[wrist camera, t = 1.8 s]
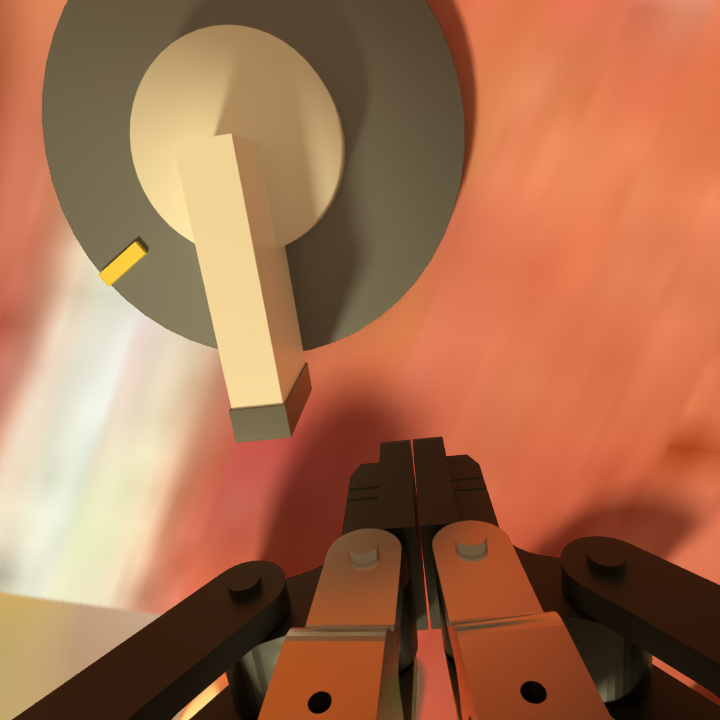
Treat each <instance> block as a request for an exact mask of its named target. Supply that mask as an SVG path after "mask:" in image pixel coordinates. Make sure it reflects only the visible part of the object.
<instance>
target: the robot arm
mask: <svg viewBox="0 0 720 720" xmlns="http://www.w3.org/2000/svg"><path fill="white" fill-rule="evenodd" d="M413 451H414V463H415V475H414V467H413V459H412V450H411V442H410V440H402V441H391V442H381V445H380V463H370V464H361V465H360V466H359V467H358V468H357V470H356V471H355V472H354V473H353V474H352V475H351V478H350V485H349V492H348V498H347V505H346V511H345V518H344V525H343V531H342V536H341V537H339V538H338V539H337V540H336V541H335V542H334V543H333V544H332V545H331V546H330V548H329V549H328V552H327V555H326V558H325V562H324V564H323V565H322V566H320V567H318V568H316V569H314V570H312V571H309V572H306V573H303V574H300V575H297V576H294V577H290V578H287V579H285V575H284V572H283V570H282V569H281V568H280V567H279V566H278V565H276V564H274V563H272V562H268V561H250V562H245V563H242V564H239V565H236V566H234V567H232V568H230V569H228V570H226V571H225V572H223V573H222V574H220V575H219V576H217V577H216V578H214V579H213V580H212V581H210V582H209V583H207V584H206V585H204V586H203V587H202V588H200V589H199V590H197V591H196V592H194V593H193V594H192V595H190V596H189V597H187V598H186V599H184V600H183V601H182V602H180V603H179V604H177V605H176V606H174V607H173V608H171V609H170V610H169V611H167V612H166V613H164V614H163V615H161V616H160V617H159V618H157V619H156V620H154V621H153V622H152V623H150V624H149V625H147V626H146V627H144V628H143V629H141V630H140V631H139V632H137V633H136V634H134V635H133V636H132V637H130V638H128V639H127V640H126V641H124V642H123V643H121V644H120V645H118V646H117V647H116V648H114V649H113V650H111V651H110V652H108V653H107V654H106V655H104V656H103V657H101V658H100V659H98V660H97V661H96V662H94V663H93V664H91V665H90V666H88V667H87V668H85V669H84V670H83V671H81V672H80V673H78V674H77V675H75V676H74V677H73V678H71V679H70V680H68V681H67V682H65V683H64V684H63V685H61V686H60V687H59V688H57V689H55V690H54V691H53V692H51V693H50V694H48V695H47V696H45V697H44V698H43V699H41V700H40V701H38V702H37V703H35V704H34V705H32V706H31V707H30V708H28V709H27V710H25V711H24V712H22V713H21V714H20V715H18V716H17V717H15V718H14V719H12V720H172V718H173V717H174V716H175V715H176V714H177V713H178V712H179V711H181V710H182V709H183V708H184V707H185V706H186V705H188V704H189V703H190V702H191V701H192V700H193V699H195V698H196V697H197V696H198V695H199V694H200V693H202V692H203V691H204V690H205V689H206V688H207V687H209V686H210V685H211V684H212V683H213V682H214V681H216V680H217V679H218V678H219V677H220V676H221V675H223V674H224V673H226V676H227V680H228V684H229V685H228V686H227V687H225V688H224V689H223V690H222V691H221V692H220V693H219V694H217V695H216V696H215V697H214V698H213V699H212V700H211V701H210V702H208V703H207V704H206V705H205V706H204V707H203V708H202V709H200V710H199V711H198V712H197V713H196V714H195V715H194V716H193V717H191V718H190V719H189V720H415V719H416V691H417V660H416V653H417V649H418V638H417V630H427V629H428V620H427V608H426V595H425V583H424V570H423V560H424V569H425V577H426V585H427V594H428V602H429V611H430V619H431V627H432V629H440V628H442V637H443V644H444V654H445V663H446V670H447V675H448V680H449V685H450V690H451V695H452V700H453V705H454V710H455V715H456V720H720V706H718V705H717V704H715V703H713V702H712V701H710V700H709V699H707V698H705V697H704V696H702V695H701V694H699V693H697V692H696V691H694V690H693V689H691V688H690V687H688V686H686V685H685V684H683V683H682V682H680V681H678V680H677V679H675V678H674V677H672V676H670V675H669V674H667V673H666V672H664V671H663V670H661V669H659V668H658V667H656V666H655V665H653V664H652V655H653V656H655V657H656V658H658V659H660V660H661V661H663V662H664V663H666V664H668V665H669V666H671V667H673V668H674V669H676V670H677V671H679V672H681V673H682V674H684V675H685V676H687V677H689V678H690V679H692V680H694V681H695V682H697V683H698V684H700V685H702V686H703V687H705V688H707V689H708V690H710V691H711V692H713V693H714V694H715V695H716V696H718V697H719V698H720V585H718V584H716V583H714V582H711V581H709V580H707V579H705V578H703V577H701V576H699V575H696V574H694V573H692V572H690V571H688V570H686V569H683V568H681V567H679V566H677V565H675V564H673V563H670V562H668V561H666V560H664V559H662V558H660V557H657V556H655V555H653V554H651V553H649V552H647V551H644V550H642V549H640V548H638V547H636V546H634V545H631V544H629V543H627V542H624V541H621V540H618V539H614V538H609V537H600V536H592V537H584V538H580V539H577V540H574V541H572V542H571V543H569V544H568V545H567V546H566V547H565V548H564V549H563V551H562V553H561V558H556V557H550V556H543V555H537V554H533V553H530V552H526V551H524V550H522V549H519V548H517V547H516V546H514V545H512V543H511V541H510V539H509V537H508V535H507V534H506V533H505V532H504V531H503V530H502V529H500V528H499V525H498V522H497V519H496V516H495V513H494V510H493V506H492V503H491V500H490V497H489V494H488V491H487V488H486V484H485V481H484V479H483V475H482V472H481V469H480V466H479V464H478V463H477V462H475V461H474V460H473V459H472V458H471V457H469V456H468V455H456V456H446V453H445V448H444V443H443V438H442V437H432V438H422V439H413ZM415 476H416V484H415ZM416 489H417V492H416ZM421 543H422V545H421ZM422 552H423V558H422Z"/></svg>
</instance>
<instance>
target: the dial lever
mask: <svg viewBox="0 0 720 720" xmlns="http://www.w3.org/2000/svg"><path fill="white" fill-rule="evenodd" d="M130 146H131V153H132V158H133V163H134V166H135V170H136V173H137V176H138V179H139V181H140V183H141V186H142V188H143V190H144V192H145V194H146V195H147V197H148V199H149V201H150V202H151V204H152V205H153V207H154V208H155V209H156V211H157V212H158V213H159V215H160V216H161V217H162V218H163V219H164V220H165V221H166V222H167V223H168V224H169V225H170V226H171V227H172V228H173V229H174V230H176V231H177V232H178V233H179V234H181V235H182V236H184V237H185V238H187V239H188V240H190V241H191V242H193V243H195V246H196V251H197V255H198V260H199V264H200V269H201V273H202V278H203V282H204V287H205V291H206V296H207V300H208V305H209V309H210V314H211V318H212V323H213V327H214V332H215V336H216V341H217V345H218V350H219V354H220V359H221V363H222V368H223V372H224V376H225V381H226V385H227V390H228V394H229V399H230V403H231V409H230V410H229V412H230V417H231V421H232V426H233V430H234V435H235V439H236V443H238V442H248V441H259V440H269V439H280V438H291V436H292V434H293V432H294V429H295V427H296V425H297V422H298V420H299V418H300V416H301V413H302V411H303V409H304V406H305V404H306V402H307V399H308V397H309V395H310V392H311V390H312V387H311V381H310V375H309V369H308V364H307V363H305V359H304V353H303V347H302V342H301V336H300V330H299V324H298V318H297V313H296V307H295V301H294V295H293V290H292V284H291V278H290V272H289V267H288V261H287V255H286V249H285V245H287V244H289V243H291V242H293V241H295V240H297V239H299V238H300V237H302V236H303V235H305V234H306V233H307V232H309V231H310V230H311V229H312V228H313V227H314V226H315V225H317V224H318V223H319V221H320V220H321V219H322V218H323V217H324V215H325V214H326V213H327V211H328V210H329V208H330V206H331V205H332V203H333V201H334V199H335V197H336V195H337V193H338V190H339V187H340V184H341V181H342V177H343V171H344V166H345V137H344V131H343V126H342V122H341V119H340V115H339V112H338V109H337V107H336V105H335V103H334V101H333V98H332V96H331V95H330V93H329V91H328V90H327V88H326V87H325V85H324V83H323V82H322V80H321V79H320V77H319V76H318V74H317V73H316V72H315V70H314V69H313V68H312V67H311V66H310V64H309V63H308V62H307V61H306V60H305V59H304V58H303V57H302V56H301V55H300V54H299V53H298V52H297V51H296V50H295V49H293V48H292V47H290V46H289V45H288V44H286V43H285V42H284V41H282V40H280V39H278V38H276V37H275V36H273V35H271V34H269V33H266V32H263V31H261V30H258V29H255V28H250V27H245V26H241V25H218V26H210V27H206V28H202V29H198V30H196V31H193V32H191V33H189V34H186V35H184V36H182V37H181V38H179V39H178V40H176V41H175V42H173V43H172V44H170V45H169V46H168V47H167V48H166V49H165V50H163V51H162V52H161V53H160V54H159V56H158V57H157V58H156V59H155V60H154V61H153V63H152V64H151V65H150V67H149V68H148V70H147V72H146V73H145V75H144V76H143V78H142V81H141V83H140V85H139V87H138V89H137V92H136V96H135V99H134V102H133V107H132V112H131V118H130Z"/></svg>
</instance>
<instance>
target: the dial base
mask: <svg viewBox="0 0 720 720" xmlns="http://www.w3.org/2000/svg"><path fill="white" fill-rule="evenodd" d="M218 25H241V26H245V27H250V28H255V29H258V30H261V31H263V32H266V33H269V34H271V35H273V36H275V37H276V38H278V39H280V40H282V41H284V42H285V43H286V44H288V45H289V46H290V47H292V48H293V49H295V50H296V51H297V52H298V53H299V54H300V55H301V56H302V57H303V58H304V59H305V60H306V61H307V62H308V63H309V64H310V66H311V67H312V68H313V69H314V70H315V72H316V73H317V74H318V76H319V77H320V79H321V80H322V82H323V83H324V85H325V87H326V88H327V90H328V91H329V93H330V95H331V96H332V98H333V101H334V103H335V105H336V107H337V109H338V112H339V115H340V119H341V122H342V126H343V131H344V137H345V166H344V171H343V177H342V181H341V184H340V187H339V190H338V193H337V195H336V197H335V199H334V201H333V203H332V205H331V206H330V208H329V210H328V211H327V213H326V214H325V215H324V217H323V218H322V219H321V220H320V221H319V223H318V224H317V225H315V226H314V227H313V228H312V229H311V230H310V231H309V232H307V233H306V234H305V235H303V236H302V237H300V238H299V239H297V240H295V241H293V242H291V243H289V244H287V245H285V249H286V255H287V261H288V267H289V272H290V278H291V284H292V290H293V295H294V301H295V307H296V313H297V318H298V324H299V330H300V336H301V342H302V347H303V351H305V350H311V349H314V348H317V347H320V346H324V345H327V344H330V343H333V342H336V341H338V340H340V339H342V338H344V337H346V336H348V335H351V334H353V333H355V332H357V331H359V330H360V329H362V328H363V327H365V326H366V325H368V324H370V323H371V322H373V321H374V320H376V319H377V318H379V317H380V316H381V315H382V314H383V313H385V312H386V311H387V310H388V309H389V308H391V307H392V306H393V305H394V304H395V303H397V302H398V301H399V300H400V299H401V297H402V296H403V295H404V294H405V293H406V292H407V291H408V290H409V289H410V288H411V287H412V285H413V284H414V283H415V282H416V281H417V279H418V278H419V277H420V275H421V274H422V272H423V271H424V269H425V268H426V267H427V265H428V264H429V262H430V261H431V259H432V257H433V256H434V254H435V252H436V250H437V248H438V246H439V244H440V242H441V240H442V239H443V237H444V235H445V232H446V229H447V227H448V224H449V221H450V219H451V216H452V213H453V211H454V208H455V204H456V200H457V195H458V191H459V187H460V183H461V178H462V169H463V161H464V152H465V119H464V111H463V103H462V96H461V88H460V84H459V80H458V76H457V72H456V68H455V65H454V61H453V57H452V54H451V51H450V49H449V46H448V44H447V41H446V39H445V36H444V34H443V31H442V29H441V26H440V24H439V22H438V21H437V19H436V17H435V15H434V13H433V12H432V10H431V8H430V6H429V5H428V3H427V1H426V0H68V1H67V3H66V5H65V7H64V9H63V12H62V14H61V17H60V19H59V22H58V24H57V27H56V30H55V32H54V35H53V39H52V43H51V46H50V50H49V54H48V58H47V62H46V69H45V77H44V85H43V93H42V125H43V134H44V143H45V152H46V157H47V161H48V165H49V170H50V174H51V178H52V182H53V185H54V188H55V191H56V194H57V197H58V199H59V202H60V205H61V208H62V210H63V212H64V214H65V217H66V219H67V221H68V223H69V225H70V227H71V229H72V231H73V233H74V235H75V237H76V238H77V240H78V241H79V243H80V245H81V246H82V248H83V249H84V251H85V253H86V254H87V256H88V257H89V259H90V260H91V261H92V263H93V264H94V265H95V266H96V268H97V269H98V270H99V271H100V274H99V276H100V278H101V279H102V280H103V281H104V282H105V283H106V284H107V285H108V286H111V285H112V286H113V287H114V288H115V289H116V290H117V291H118V292H119V293H120V294H121V295H122V296H123V297H124V298H125V299H126V300H127V301H128V302H130V303H131V304H132V305H133V306H135V307H136V308H137V309H138V310H140V311H141V312H142V313H143V314H144V315H146V316H147V317H149V318H151V319H152V320H154V321H155V322H157V323H159V324H160V325H162V326H163V327H165V328H166V329H168V330H170V331H172V332H175V333H177V334H179V335H181V336H183V337H185V338H187V339H189V340H192V341H195V342H198V343H201V344H204V345H207V346H210V347H212V348H216V349H218V345H217V341H216V336H215V332H214V327H213V323H212V318H211V314H210V309H209V305H208V300H207V296H206V291H205V287H204V282H203V278H202V273H201V269H200V264H199V260H198V255H197V251H196V246H195V243H193V242H191V241H190V240H188V239H187V238H185V237H184V236H182V235H181V234H179V233H178V232H177V231H176V230H174V229H173V228H172V227H171V226H170V225H169V224H168V223H167V222H166V221H165V220H164V219H163V218H162V217H161V216H160V215H159V213H158V212H157V211H156V209H155V208H154V207H153V205H152V204H151V202H150V201H149V199H148V197H147V195H146V194H145V192H144V190H143V188H142V186H141V183H140V181H139V179H138V176H137V173H136V170H135V166H134V163H133V158H132V153H131V146H130V118H131V112H132V107H133V102H134V99H135V96H136V92H137V89H138V87H139V85H140V83H141V81H142V78H143V76H144V75H145V73H146V72H147V70H148V68H149V67H150V65H151V64H152V63H153V61H154V60H155V59H156V58H157V57H158V56H159V54H160V53H161V52H162V51H163V50H165V49H166V48H167V47H168V46H169V45H170V44H172V43H173V42H175V41H176V40H178V39H179V38H181V37H182V36H184V35H186V34H189V33H191V32H193V31H196V30H198V29H202V28H206V27H210V26H218Z"/></svg>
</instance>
